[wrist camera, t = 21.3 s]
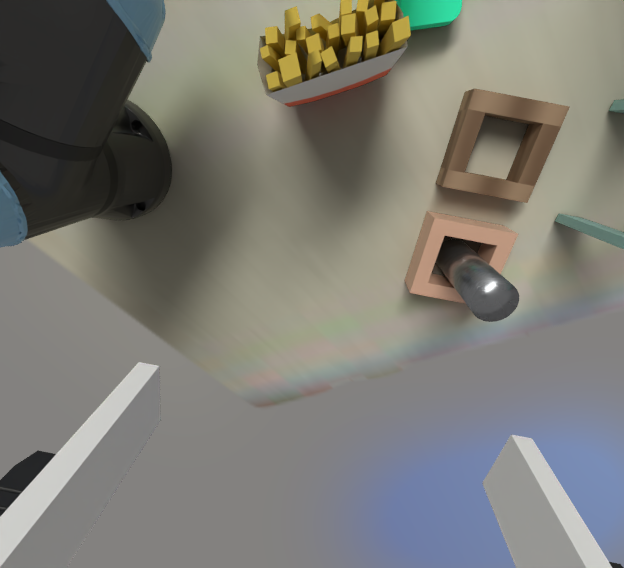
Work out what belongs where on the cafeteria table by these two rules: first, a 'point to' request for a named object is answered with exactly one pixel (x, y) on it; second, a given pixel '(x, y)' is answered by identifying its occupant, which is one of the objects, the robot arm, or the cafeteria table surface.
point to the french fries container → (332, 51)
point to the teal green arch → (591, 227)
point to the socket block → (529, 156)
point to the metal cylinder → (477, 281)
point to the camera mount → (429, 12)
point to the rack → (438, 225)
